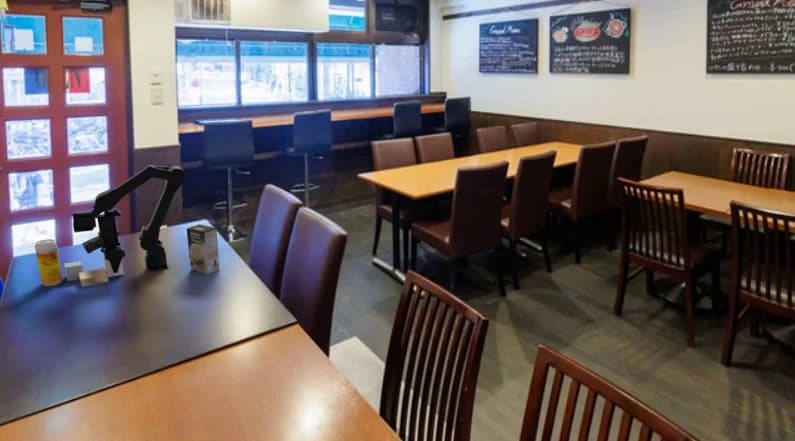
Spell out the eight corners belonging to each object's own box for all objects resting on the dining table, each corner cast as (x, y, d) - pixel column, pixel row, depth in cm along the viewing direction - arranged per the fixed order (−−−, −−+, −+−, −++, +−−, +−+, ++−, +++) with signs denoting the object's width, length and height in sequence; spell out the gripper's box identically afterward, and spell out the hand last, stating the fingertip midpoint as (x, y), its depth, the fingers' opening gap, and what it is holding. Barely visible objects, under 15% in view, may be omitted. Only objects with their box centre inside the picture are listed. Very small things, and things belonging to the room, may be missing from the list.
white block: (121, 270, 197) (119, 254, 195) (123, 274, 193) (121, 258, 191) (105, 273, 194) (103, 257, 192) (108, 277, 190) (105, 261, 188)
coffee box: (189, 270, 197) (185, 228, 193) (203, 264, 203) (199, 223, 198) (207, 274, 193) (203, 231, 189) (220, 269, 199) (217, 227, 194)
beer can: (52, 287, 181) (45, 245, 177) (37, 285, 182) (29, 243, 178) (66, 280, 187) (59, 239, 183) (51, 279, 188) (44, 238, 184)
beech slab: (105, 275, 193) (103, 267, 192) (108, 282, 186) (107, 274, 186) (79, 280, 188) (78, 272, 187) (82, 287, 182) (80, 279, 181)
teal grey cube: (82, 274, 193) (80, 260, 192) (84, 278, 189) (82, 264, 188) (66, 276, 190) (64, 263, 189) (67, 281, 187) (65, 267, 185)
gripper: (79, 226, 192) (85, 267, 196) (85, 239, 177) (92, 283, 181) (113, 221, 198) (119, 261, 202) (122, 233, 183) (128, 276, 187)
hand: (114, 270), depth 193 cm, fingers closed on white block, 5 cm apart
